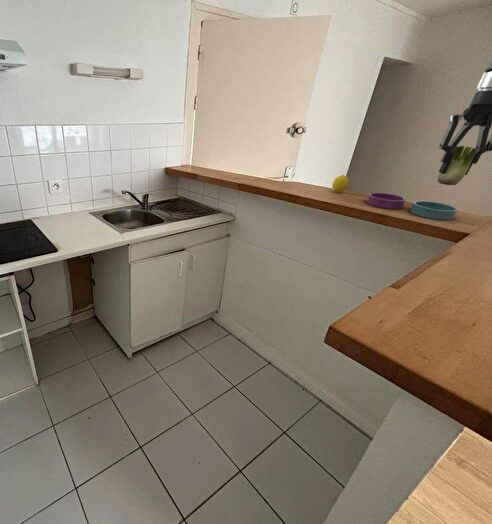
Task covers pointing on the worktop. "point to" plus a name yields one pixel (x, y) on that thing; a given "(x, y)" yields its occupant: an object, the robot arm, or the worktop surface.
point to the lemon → (340, 183)
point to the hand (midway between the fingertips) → (452, 173)
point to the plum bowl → (385, 200)
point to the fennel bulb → (457, 165)
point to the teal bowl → (433, 210)
